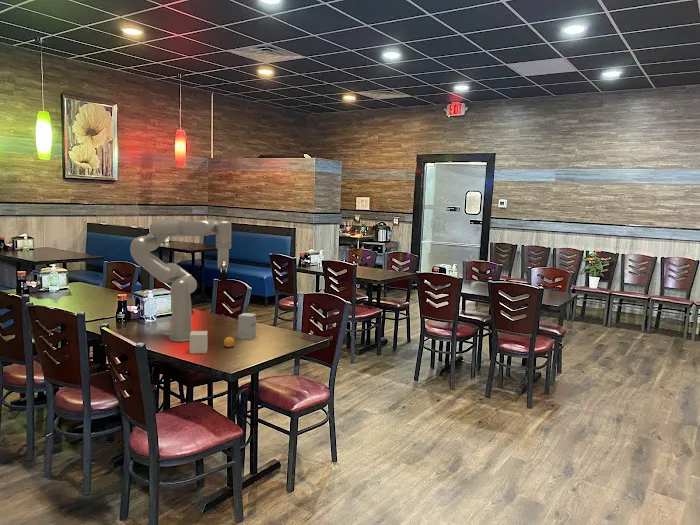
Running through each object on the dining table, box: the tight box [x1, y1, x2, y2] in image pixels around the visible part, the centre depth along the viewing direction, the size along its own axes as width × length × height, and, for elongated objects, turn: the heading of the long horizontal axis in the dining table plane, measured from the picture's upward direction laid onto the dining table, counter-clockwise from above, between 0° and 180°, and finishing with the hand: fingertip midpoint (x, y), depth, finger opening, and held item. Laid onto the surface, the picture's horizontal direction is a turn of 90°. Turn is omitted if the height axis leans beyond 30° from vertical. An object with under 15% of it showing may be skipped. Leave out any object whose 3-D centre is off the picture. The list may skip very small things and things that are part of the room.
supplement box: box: [237, 312, 257, 341], centre depth 287 cm, size 7×7×13 cm
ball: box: [223, 336, 235, 348], centre depth 269 cm, size 5×5×5 cm
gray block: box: [189, 330, 209, 354], centre depth 261 cm, size 8×8×9 cm
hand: (223, 279), depth 276 cm, fingers open, 9 cm apart
